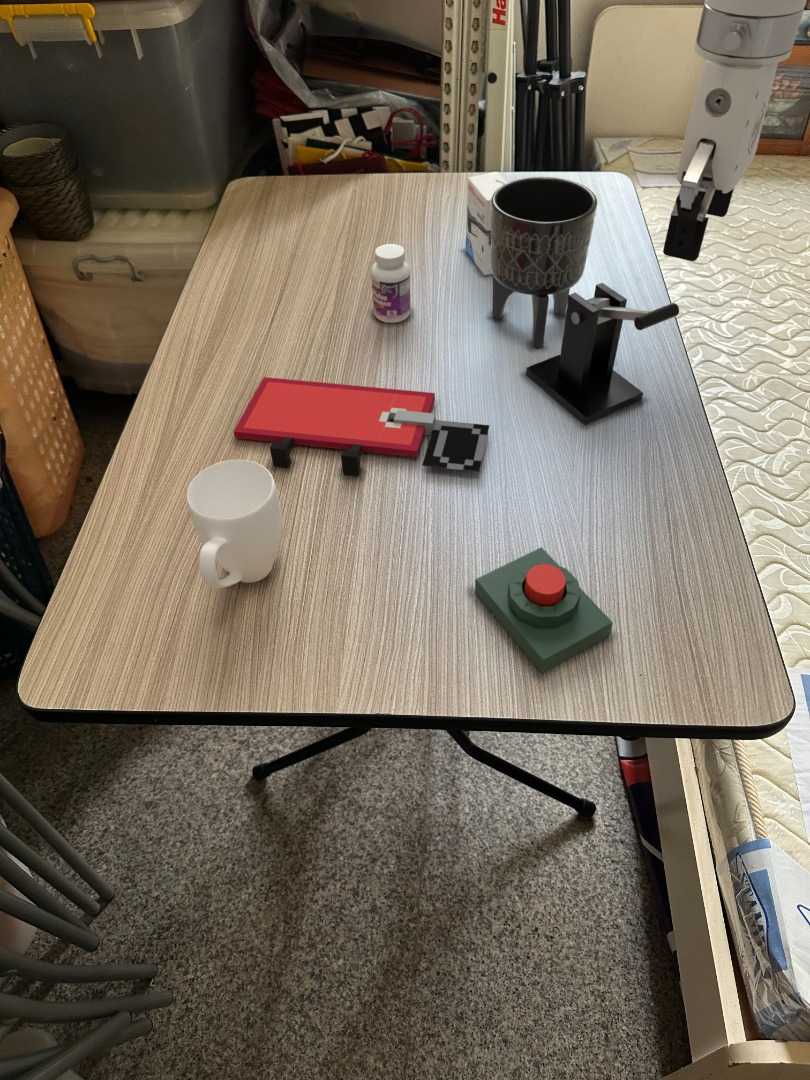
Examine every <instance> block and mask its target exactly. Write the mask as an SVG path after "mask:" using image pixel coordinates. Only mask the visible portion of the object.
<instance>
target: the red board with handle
mask: <svg viewBox="0 0 810 1080" xmlns="http://www.w3.org/2000/svg"><path fill="white" fill-rule="evenodd" d="M435 400H436V393H435V392H429V391H419V390H418V391H417V390H409V389H408V390H407V389H395V388H384V387H375V386H366V385H365V386H363V385H353V384H341V383H331V382H320V381H311V380H298V379H297V380H296V379H288V378H277V377H266V376H264V377H263V378H262V379H261V382H260V383H259V385H258V386H257V389H256V390H255V392H254V394H253V396H252V397H251V399H250V401H249V402H248V405H247V406H246V408H245V409H244V412H243V414H242V415H241V417H240V419H239V420H238V422H237V424H236V426H235V428H234V430H233V436H234V438H235V439H244V440H252V441H253V440H254V441H264V442H271V444H270V446H269V452H270V457H271V461H272V466H273V467H275V468H276V467H277V468H284V469H289V468H290V466H291V464H292V460H291V454H290V450H291V449H292V447H293V446H294V445H299V446H308V447H309V446H310V447H318V448H328V449H338V450H342V451H341V454H340V461H341V468H342V475H347V476H356V477H360V475H361V472H362V468H361V455H362V453H363V452H365V453H375V454H382V455H392V456H403V457H409V458H410V457H411V458H418V457H419V454H420V451H421V447H422V443H423V440H424V437H425V436H430V437H429V441H428V444H427V448H426V449H425V454H424V458H423V460H422V464H421V466H423V467H431V468H441V469H448V470H449V469H450V470H457V471H458V470H459V471H467V472H476V473H479V472H480V471H481V467H482V462H483V457H484V452H485V448H486V443H487V437H488V434H489V429H490V425H489V424H482V423H481V424H479V423H470V422H461V421H451V420H440V419H436V413H434V412H433V413H432V410H433V407H434V406H433V405H434V403H435ZM391 420H393V421H392V422H391Z"/></svg>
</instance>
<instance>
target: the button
mask: <svg viewBox="0 0 810 1080" xmlns="http://www.w3.org/2000/svg"><path fill="white" fill-rule="evenodd" d="M565 583H566V579H565V576H564V574H563V572H562V571H561V570H560V569H558V568H557V567H555V566H552V565H548V564H541V565H537V566H534V567H532V568H531V569H530V570H529V571H528V573H527V576H526V583H525V593H526V595H527V597H528V598H529V599H530V600H531V601H532V602H534V603H536V604H538V605H542V606H549V605H553V604H556V603H557V602H559V601H560V600H561V599H562V597H563V594H564V588H565Z"/></svg>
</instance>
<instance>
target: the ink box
mask: <svg viewBox="0 0 810 1080" xmlns="http://www.w3.org/2000/svg"><path fill="white" fill-rule="evenodd" d="M506 183H509V182H508V181H507V180H506V178H505V177H504V176H503V175H502V173H500V172H499V171H492V172H488V173H483V174H477V175H471V176H468V177H467V189H466V190H467V191H466V193H467V194H466V221H465V222H466V223H465V225H466V226H465V252H466V253H467V254H468V255H469V257H470V258H471V260H472V261H473V263H474V264H475V265H476V266H477V268H478V269H479V270H480V272H481V273H482V274H483V276H489V275H493V273H492V269H491V200H492V196H493V194H494V192H495V191H496V190H497V189H498V188H500V187H501V186H503V185H504V184H506Z"/></svg>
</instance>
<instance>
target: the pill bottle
mask: <svg viewBox="0 0 810 1080" xmlns="http://www.w3.org/2000/svg"><path fill="white" fill-rule="evenodd" d="M405 260H406V255H405V248H404V247H403V246H401V245H399V244H395V243H385V244H382V245H379V246H378V247H376V249H375V251H374V261H375V262H374V263H373V265H372V266H371V270H370V276H371V290H372V291H371V292H372V307H373V314H374V317H375V318H376V319H378V320H379V321H380V322H383V323H387V324H395V323H396V324H397V323H400V322H402V321H404V320H406V319H408V317H409V316H410V314H411V270H410V266H409V264H408V262H406V261H405Z"/></svg>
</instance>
